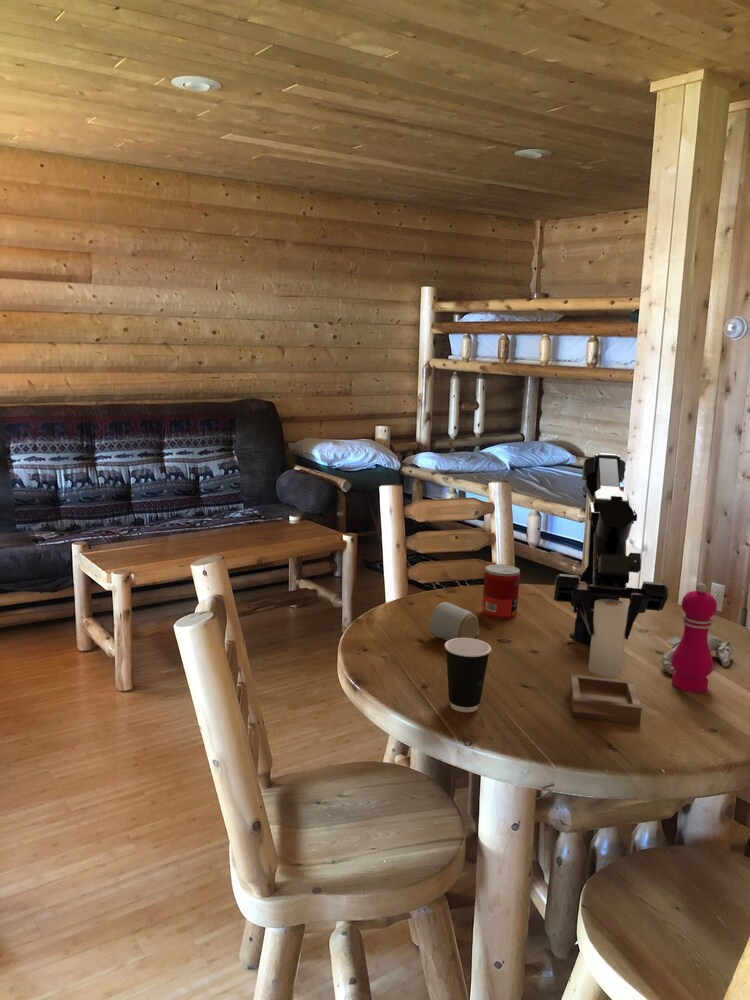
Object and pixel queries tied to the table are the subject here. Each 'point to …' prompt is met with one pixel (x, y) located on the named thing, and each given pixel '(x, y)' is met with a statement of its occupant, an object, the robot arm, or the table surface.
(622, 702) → the tray
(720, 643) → the seahorse
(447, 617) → the ceramic mug
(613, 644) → the paper roll
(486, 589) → the canned food
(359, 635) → the table surface
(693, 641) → the pepper mill
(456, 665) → the dixie cup
